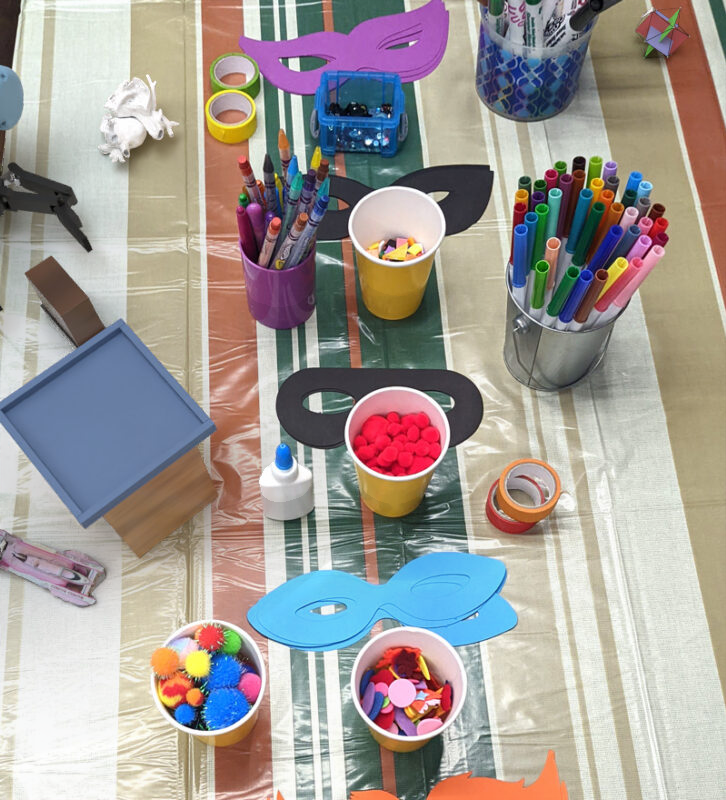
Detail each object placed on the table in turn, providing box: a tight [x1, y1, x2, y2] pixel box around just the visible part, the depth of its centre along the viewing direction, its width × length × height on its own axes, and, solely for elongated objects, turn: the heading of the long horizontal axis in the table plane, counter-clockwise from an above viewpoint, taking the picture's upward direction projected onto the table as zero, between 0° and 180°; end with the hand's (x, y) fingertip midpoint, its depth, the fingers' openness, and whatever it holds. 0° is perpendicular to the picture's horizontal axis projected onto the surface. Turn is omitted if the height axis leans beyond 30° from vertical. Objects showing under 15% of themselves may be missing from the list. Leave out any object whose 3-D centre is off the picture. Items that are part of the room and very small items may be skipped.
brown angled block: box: [24, 255, 107, 350], centre depth 112 cm, size 10×5×10 cm, turn 41°
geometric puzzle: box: [634, 5, 691, 59], centre depth 131 cm, size 7×7×8 cm
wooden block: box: [102, 445, 220, 559], centre depth 99 cm, size 12×12×20 cm
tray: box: [0, 317, 218, 530], centre depth 89 cm, size 16×16×2 cm
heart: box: [97, 74, 180, 164], centre depth 125 cm, size 12×7×12 cm
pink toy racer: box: [0, 528, 107, 608], centre depth 102 cm, size 13×6×4 cm, turn 71°
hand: (43, 275), depth 111 cm, fingers open, 13 cm apart
